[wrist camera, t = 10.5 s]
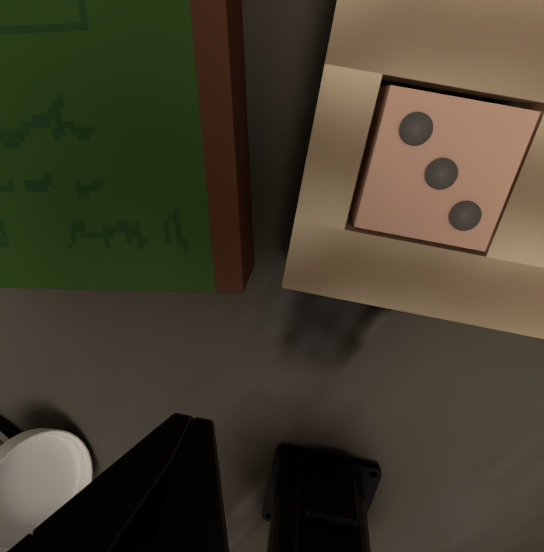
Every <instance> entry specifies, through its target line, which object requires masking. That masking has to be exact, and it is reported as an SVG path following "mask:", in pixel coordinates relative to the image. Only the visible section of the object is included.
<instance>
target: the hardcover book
mask: <svg viewBox="0 0 544 552" xmlns="http://www.w3.org/2000/svg"><path fill="white" fill-rule="evenodd" d="M253 267H254V252H253V231H252V211H251V190H250V169H249V148H248V127H247V106H246V85H245V64H244V43H243V22H242V1H241V0H0V287H5V288H51V289H97V290H142V291H188V292H234V293H244V290H245V287H246V285H247V282H248V280H249V277H250V275H251V272H252V270H253Z"/></svg>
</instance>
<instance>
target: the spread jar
mask: <svg viewBox="0 0 544 552" xmlns="http://www.w3.org/2000/svg"><path fill="white" fill-rule="evenodd" d="M92 475H93V468H92V459H91V456H90V453H89V450H88V449H87V447H86V445H85V444H84V442H83V441H82V440H81V439H80V438H79V437H78V436H76V435H74V434H72V433H71V432H67V431H63V430H58V429H51V428H37V429H31V430H27V431H25V432H22V433H19V432H18V431H17V430H16V429H15V428H14V427H13V426H11V425H10V424H9V423H7V422H6V421H4V420H3V419H1V418H0V552H7V551H8V550H9V549H11V548H12V547H13V546H14V545H15V544H17V543H18V542H19V541H20V540H21V539H23V538H24V537H25V536H26V535H27V534H29V533H31V534H32V535H33V530H34V529H35V528H36V527H37V526H39V525H40V524H41V523H42V522H43V521H45V520H46V519H47V518H48V517H49V516H51V515H52V514H53V513H54V512H55V511H57V510H58V509H59V508H60V507H62V506H63V505H64V504H65V503H66V502H68V501H69V500H70V499H71V498H72V497H74V496H75V495H76V494H77V493H78V492H80V491H81V490H82V489H83V488H84V487H86V486H87V485H88V484H89V483H91V482H92Z"/></svg>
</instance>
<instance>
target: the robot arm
mask: <svg viewBox="0 0 544 552" xmlns="http://www.w3.org/2000/svg"><path fill="white" fill-rule="evenodd" d="M283 453H286V454H283ZM381 475H382V474H381V468H380V466H379V465H378V464H375V463H371V462H366V461H361V460H356V459H351V458H346V457H342V456H337V455H332V454H327V453H322V452H318V451H313V450H308V449H303V448H298V447H294V446H289V445H279V446H278V447H277V449H276V452H275V457H274V461H273V465H272V470H271V474H270V478H269V483H268V487H267V492H266V496H265V500H264V505H263V509H262V518H263V519H264V520H266V521H270V530H269V538H268V547H267V552H371V549H370V540H369V531H368V522H367V513H368V510H369V507H370V505H371V502H372V499H373V497H374V494H375V492H376V489H377V486H378V484H379V481H380V478H381ZM7 552H229V547H228V538H227V530H226V521H225V513H224V504H223V496H222V488H221V479H220V471H219V462H218V454H217V446H216V437H215V429H214V423H213V421H212V420H209V419H204V418H199V417H196V418H194V419H193V417H192V416H189V415H184V414H179V413H175V414H173V415H171V416H170V417H169V418H168V419H167V420H165V421H164V422H163V423H162V424H161V425H159V426H158V427H157V428H156V429H155V430H153V431H152V432H151V433H150V434H148V435H147V436H146V437H145V438H144V439H142V440H141V441H140V442H139V443H138V444H136V445H135V446H134V447H133V448H132V449H130V450H129V451H128V452H127V453H126V454H124V455H123V456H122V457H121V458H119V459H118V460H117V461H116V462H115V463H113V464H112V465H111V466H110V467H109V468H107V469H106V470H105V471H104V472H103V473H101V474H100V475H99V476H98V477H97V478H95V479H94V480H93V481H92V482H91V483H89V484H88V485H87V486H86V487H84V488H83V489H82V490H81V491H80V492H78V493H77V494H76V495H75V496H74V497H72V498H71V499H70V500H69V501H68V502H66V503H65V504H64V505H63V506H62V507H60V508H59V509H58V510H57V511H55V512H54V513H53V514H52V515H51V516H49V517H48V518H47V519H46V520H45V521H43V522H42V523H41V524H40V525H39V526H37V527H36V528H35V529H34V530H33V535H32V534H31V533H29V534H27V535H26V536H25V537H24V538H23V539H21V540H20V541H19V542H18V543H17V544H15V545H14V546H13V547H12V548H11V549H9V550H8V551H7Z"/></svg>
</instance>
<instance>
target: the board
mask: <svg viewBox="0 0 544 552" xmlns="http://www.w3.org/2000/svg"><path fill="white" fill-rule="evenodd" d="M381 80H386V81H392V82H397V83H403V84H408V85H414V86H420V87H425V88H431V89H436V90H442V91H448V92H453V93H459V94H464V95H470V96H476V97H481V98H487V99H493V100H498V101H504V102H506V103H505V105H506V106H511V107H517V108H523V109H528V110H534V111H539V112H541V113H540V115H539V118H538V120H537V123H536V125H535V128H534V130H533V133H532V135H531V138H530V140H529V143H528V145H527V148H526V150H525V153H524V155H523V158H522V160H521V163H520V165H519V168H518V170H517V173H516V175H515V178H514V180H513V183H512V185H511V188H510V190H509V193H508V195H507V198H506V200H505V203H504V205H503V208H502V210H501V213H500V215H499V218H498V220H497V223H496V225H495V228H494V230H493V233H492V235H491V238H490V240H489V243H488V245H487V248H486V250H485V252H484V251H479V250H473V249H468V248H463V247H458V246H452V245H447V244H442V243H437V242H431V241H426V240H421V239H416V238H410V237H405V236H400V235H394V234H389V233H384V232H379V231H373V230H368V229H363V228H358V227H354V223H353V219H352V215H351V211H350V210H349V209H350V205H351V201H352V197H353V193H354V189H355V185H356V181H357V176H358V172H359V168H360V164H361V160H362V156H363V152H364V148H365V144H366V140H367V136H368V132H369V128H370V124H371V120H372V116H373V111H374V107H375V103H376V99H377V95H378V91H379V87H380V83H381ZM281 288H286V289H291V290H296V291H301V292H306V293H312V294H317V295H322V296H327V297H332V298H337V299H342V300H347V301H352V302H358V303H363V304H368V305H373V306H378V307H383V308H388V309H393V310H398V311H403V312H409V313H414V314H419V315H424V316H429V317H434V318H439V319H444V320H449V321H455V322H460V323H465V324H470V325H475V326H480V327H485V328H490V329H495V330H501V331H506V332H511V333H516V334H521V335H526V336H531V337H536V338H541V339H544V0H337V2H336V8H335V13H334V18H333V23H332V28H331V34H330V39H329V44H328V49H327V54H326V59H325V65H324V70H323V75H322V80H321V85H320V91H319V96H318V101H317V106H316V111H315V116H314V122H313V127H312V132H311V137H310V142H309V148H308V153H307V158H306V163H305V168H304V173H303V179H302V184H301V189H300V194H299V199H298V205H297V210H296V215H295V220H294V225H293V230H292V236H291V241H290V246H289V251H288V256H287V262H286V267H285V272H284V277H283V282H282V287H281Z"/></svg>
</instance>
